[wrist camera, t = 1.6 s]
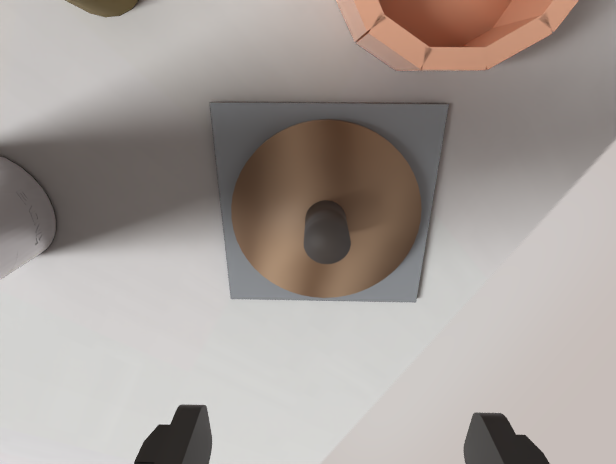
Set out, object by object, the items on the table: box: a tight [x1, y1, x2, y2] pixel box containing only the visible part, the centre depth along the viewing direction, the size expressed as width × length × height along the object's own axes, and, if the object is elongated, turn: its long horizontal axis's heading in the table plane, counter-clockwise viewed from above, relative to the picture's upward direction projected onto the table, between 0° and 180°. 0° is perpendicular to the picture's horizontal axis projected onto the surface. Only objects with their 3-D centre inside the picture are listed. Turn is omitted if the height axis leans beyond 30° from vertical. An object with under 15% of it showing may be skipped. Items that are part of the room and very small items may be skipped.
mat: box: [210, 102, 449, 302], centre depth 27 cm, size 16×16×1 cm
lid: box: [231, 119, 422, 298], centre depth 24 cm, size 14×14×5 cm
